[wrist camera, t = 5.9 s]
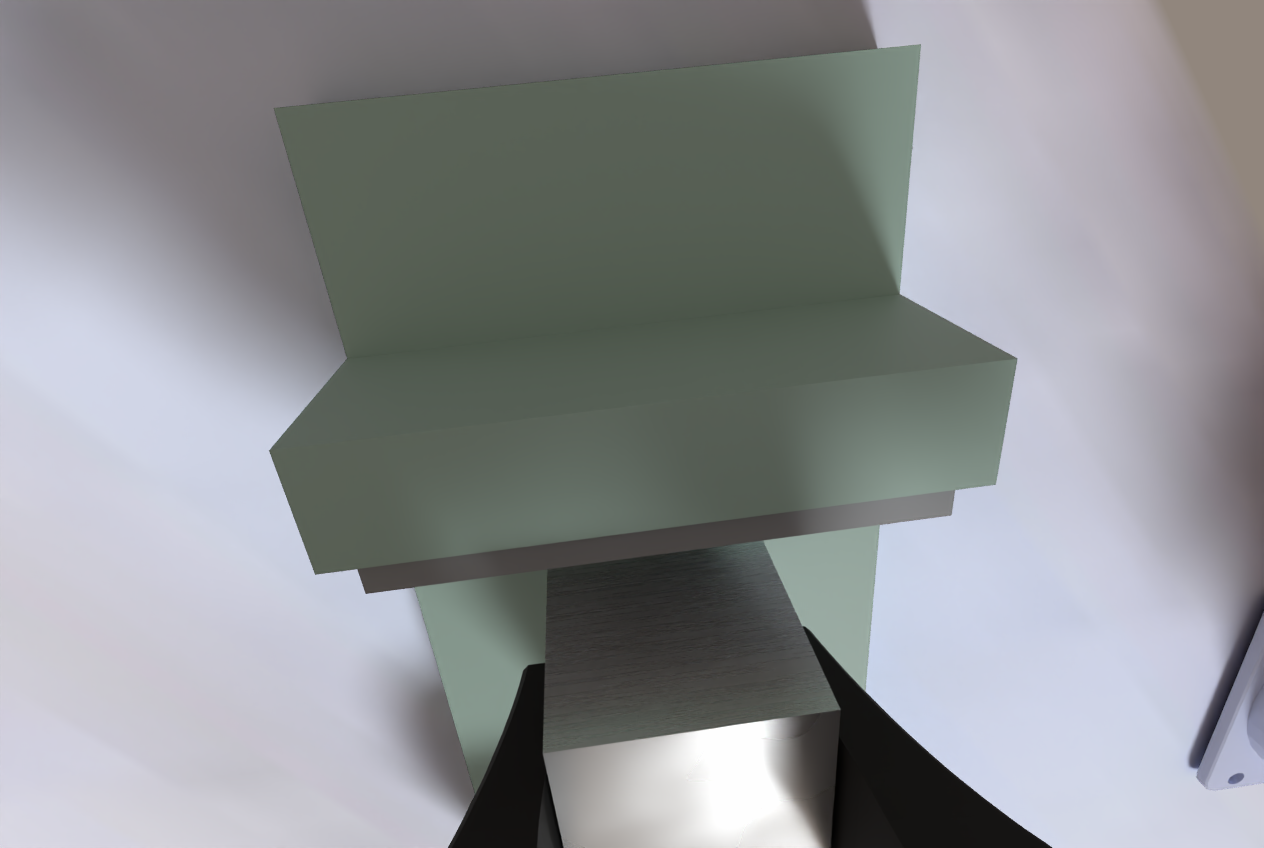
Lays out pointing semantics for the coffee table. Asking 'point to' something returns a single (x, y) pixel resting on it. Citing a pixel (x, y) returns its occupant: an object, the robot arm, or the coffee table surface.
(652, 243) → the vise
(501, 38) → the coffee table surface
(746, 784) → the steel block
